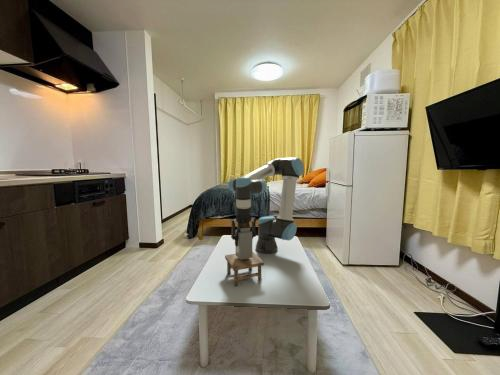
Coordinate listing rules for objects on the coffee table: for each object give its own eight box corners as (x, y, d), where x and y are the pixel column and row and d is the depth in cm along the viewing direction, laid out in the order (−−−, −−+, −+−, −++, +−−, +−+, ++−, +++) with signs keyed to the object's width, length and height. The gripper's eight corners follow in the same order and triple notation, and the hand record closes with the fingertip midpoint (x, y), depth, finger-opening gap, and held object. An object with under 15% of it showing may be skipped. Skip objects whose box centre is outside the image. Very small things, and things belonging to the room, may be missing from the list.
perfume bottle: (235, 254, 117) (235, 221, 115) (247, 252, 119) (247, 220, 118) (240, 259, 111) (239, 224, 109) (252, 257, 113) (252, 223, 111)
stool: (252, 267, 126) (252, 251, 125) (264, 281, 112) (264, 262, 111) (225, 272, 120) (224, 255, 120) (234, 287, 106) (233, 267, 105)
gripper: (257, 204, 119) (257, 246, 122) (224, 207, 112) (224, 251, 115) (263, 207, 112) (262, 250, 115) (228, 210, 105) (228, 256, 108)
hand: (243, 250), depth 115 cm, fingers closed on perfume bottle, 5 cm apart
